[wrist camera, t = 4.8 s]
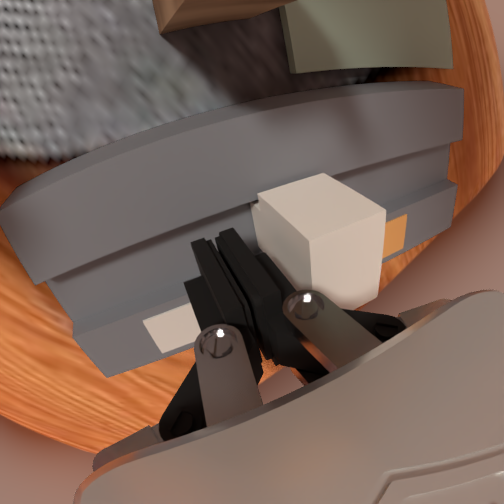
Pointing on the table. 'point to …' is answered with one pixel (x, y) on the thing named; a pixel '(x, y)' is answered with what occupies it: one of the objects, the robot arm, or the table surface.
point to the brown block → (207, 11)
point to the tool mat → (366, 34)
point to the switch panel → (220, 201)
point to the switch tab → (323, 238)
